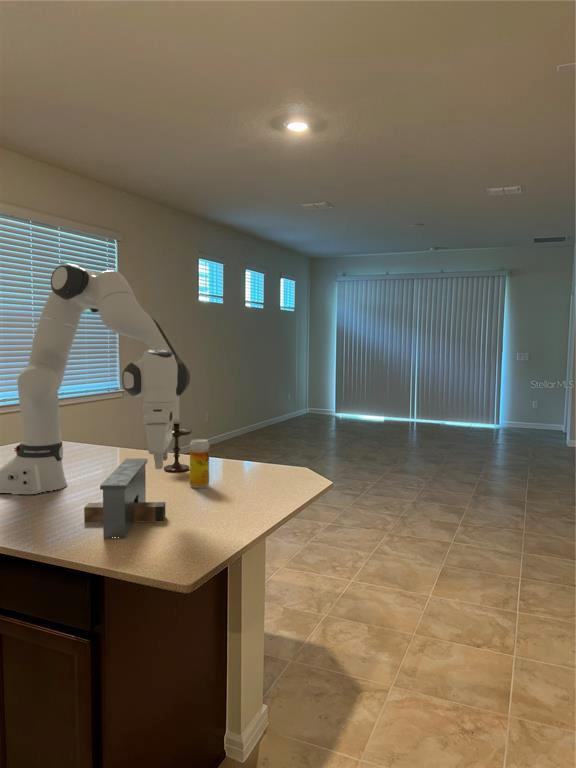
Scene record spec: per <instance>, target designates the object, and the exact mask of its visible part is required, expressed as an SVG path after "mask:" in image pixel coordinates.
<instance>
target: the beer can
mask: <svg viewBox="0 0 576 768" xmlns="http://www.w3.org/2000/svg"><path fill="white" fill-rule="evenodd" d="M190 441H191V442H190V443H189V485H190V486H191V488H193V489H205V488H208V486H209V484H210V442H209V439H206V438H196V439H195V438H194V439H192V440H190Z"/></svg>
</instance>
